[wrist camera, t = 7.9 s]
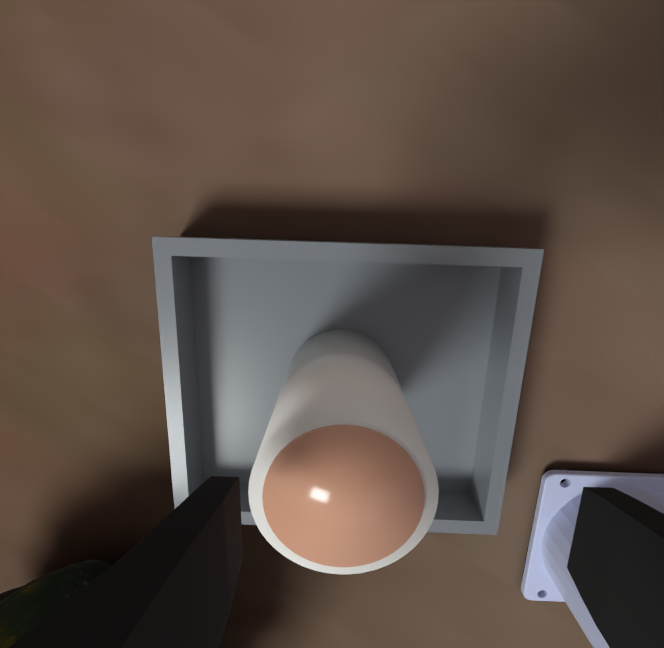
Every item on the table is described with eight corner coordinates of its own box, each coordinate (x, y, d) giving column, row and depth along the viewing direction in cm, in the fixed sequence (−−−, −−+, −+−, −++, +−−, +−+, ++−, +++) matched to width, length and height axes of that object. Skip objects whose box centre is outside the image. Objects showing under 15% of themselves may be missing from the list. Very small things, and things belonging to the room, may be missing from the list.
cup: (398, 332, 17) (451, 417, 9) (389, 430, 18) (429, 583, 10) (288, 326, 17) (246, 407, 9) (287, 425, 18) (247, 574, 10)
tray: (513, 247, 16) (544, 249, 14) (477, 497, 20) (497, 534, 17) (179, 236, 17) (151, 236, 14) (195, 486, 20) (175, 521, 17)
